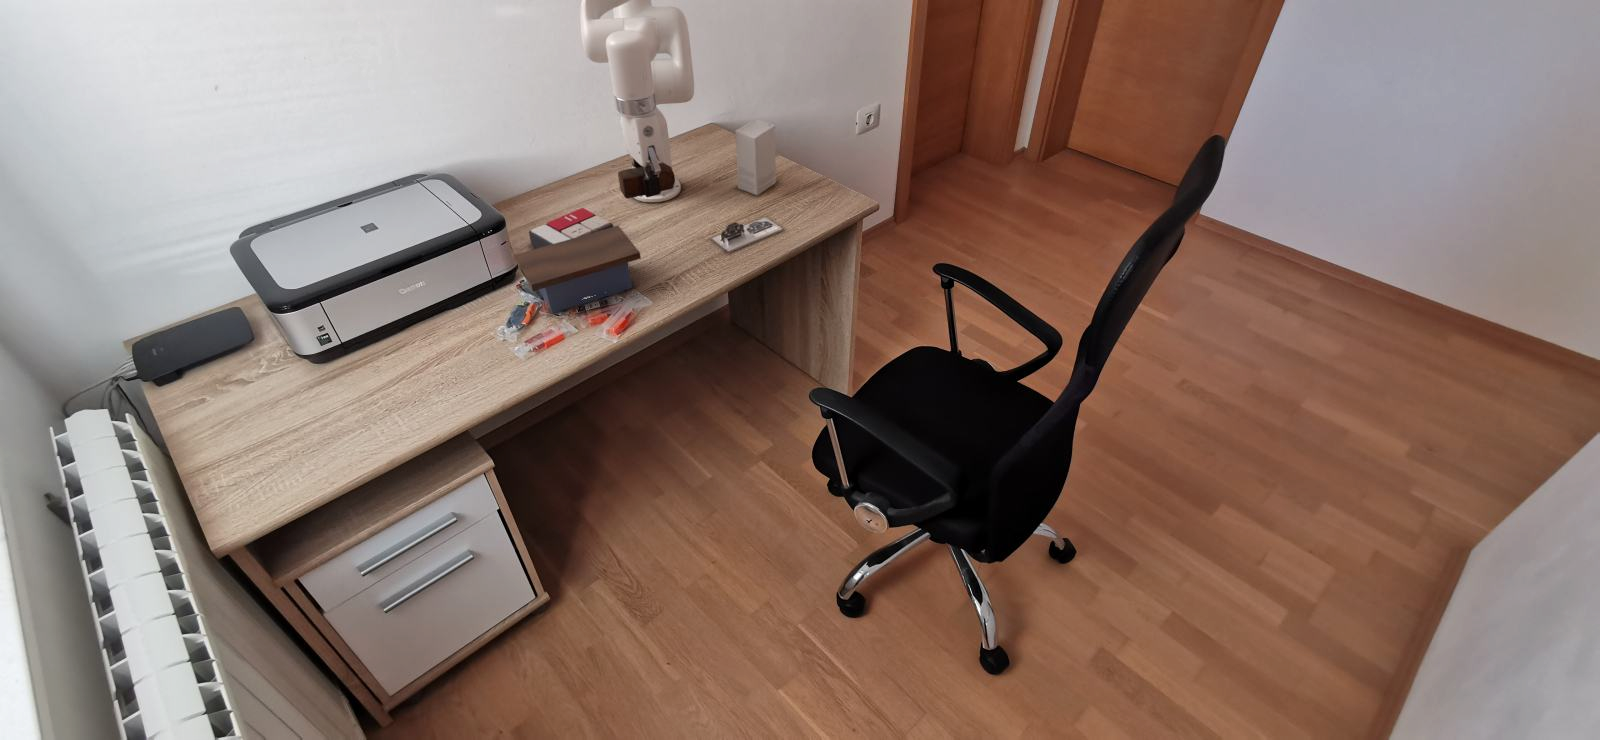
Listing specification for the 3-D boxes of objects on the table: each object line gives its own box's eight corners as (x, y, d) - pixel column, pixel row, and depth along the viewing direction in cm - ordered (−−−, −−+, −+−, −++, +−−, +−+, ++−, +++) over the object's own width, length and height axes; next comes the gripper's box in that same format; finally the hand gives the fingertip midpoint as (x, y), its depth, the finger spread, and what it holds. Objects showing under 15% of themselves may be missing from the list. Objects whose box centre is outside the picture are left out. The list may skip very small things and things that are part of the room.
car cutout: (729, 252, 165) (728, 234, 162) (712, 239, 169) (711, 222, 166) (782, 230, 172) (782, 213, 169) (765, 218, 176) (764, 201, 173)
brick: (626, 200, 150) (622, 179, 146) (620, 191, 152) (616, 170, 149) (676, 189, 153) (674, 168, 150) (669, 180, 156) (667, 160, 153)
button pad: (613, 221, 168) (557, 245, 159) (615, 238, 171) (561, 263, 161) (582, 205, 173) (527, 228, 164) (585, 221, 176) (530, 245, 167)
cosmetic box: (757, 176, 192) (755, 117, 181) (778, 183, 189) (777, 124, 179) (736, 189, 187) (733, 129, 176) (757, 196, 184) (755, 136, 174)
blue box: (537, 288, 155) (529, 260, 150) (615, 264, 161) (609, 237, 157) (552, 313, 149) (544, 284, 144) (632, 288, 155) (627, 259, 150)
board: (515, 261, 150) (513, 254, 149) (619, 231, 158) (618, 225, 157) (533, 291, 142) (531, 285, 141) (641, 258, 151) (639, 252, 150)
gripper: (672, 114, 136) (682, 202, 149) (636, 83, 147) (648, 168, 159) (634, 123, 134) (647, 213, 146) (600, 91, 144) (615, 177, 156)
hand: (648, 189), depth 152 cm, fingers closed on brick, 4 cm apart
